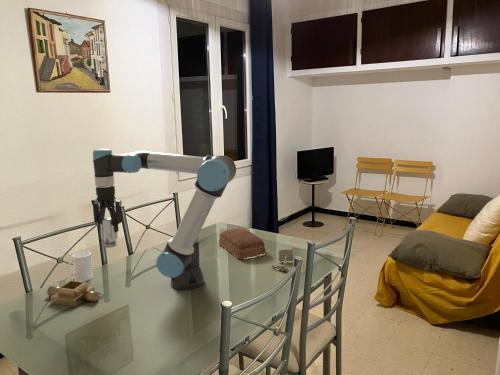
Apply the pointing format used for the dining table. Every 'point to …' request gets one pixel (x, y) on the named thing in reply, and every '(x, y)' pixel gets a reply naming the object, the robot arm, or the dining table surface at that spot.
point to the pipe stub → (108, 233)
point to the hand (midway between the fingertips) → (109, 238)
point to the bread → (241, 243)
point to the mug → (81, 266)
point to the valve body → (72, 293)
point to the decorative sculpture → (284, 258)
